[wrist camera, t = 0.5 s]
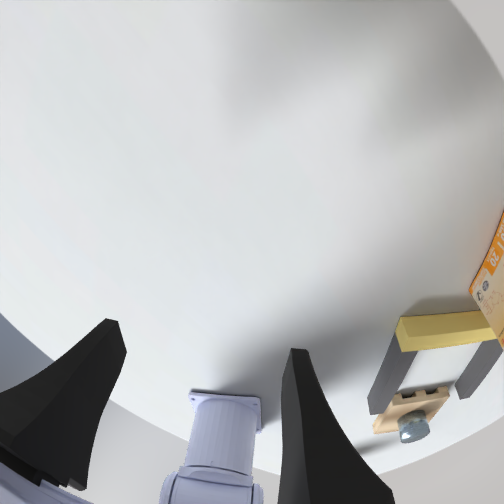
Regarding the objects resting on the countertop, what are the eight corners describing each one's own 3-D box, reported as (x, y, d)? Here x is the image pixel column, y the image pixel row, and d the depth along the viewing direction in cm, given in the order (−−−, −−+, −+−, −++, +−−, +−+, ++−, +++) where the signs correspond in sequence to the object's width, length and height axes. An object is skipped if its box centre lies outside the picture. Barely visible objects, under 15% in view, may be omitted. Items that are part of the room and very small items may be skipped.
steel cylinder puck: (418, 421, 30) (422, 440, 28) (393, 425, 31) (396, 445, 28) (429, 407, 28) (434, 427, 26) (403, 412, 29) (407, 432, 26)
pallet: (422, 414, 33) (425, 425, 31) (372, 422, 34) (374, 434, 32) (445, 383, 29) (449, 396, 27) (389, 391, 30) (392, 405, 28)
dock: (464, 382, 28) (469, 397, 26) (367, 397, 29) (370, 415, 27) (510, 306, 21) (520, 322, 19) (400, 316, 23) (408, 337, 21)
